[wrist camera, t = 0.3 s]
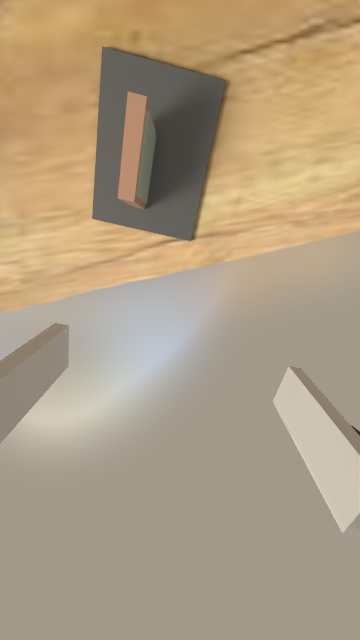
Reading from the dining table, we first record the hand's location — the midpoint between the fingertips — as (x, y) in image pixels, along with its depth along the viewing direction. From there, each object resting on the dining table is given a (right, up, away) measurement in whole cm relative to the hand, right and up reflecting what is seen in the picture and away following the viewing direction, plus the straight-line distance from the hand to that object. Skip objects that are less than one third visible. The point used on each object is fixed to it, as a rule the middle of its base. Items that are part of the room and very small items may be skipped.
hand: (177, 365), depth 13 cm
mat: (-4, +26, +19) cm, 33 cm away
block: (-5, +25, +19) cm, 31 cm away
